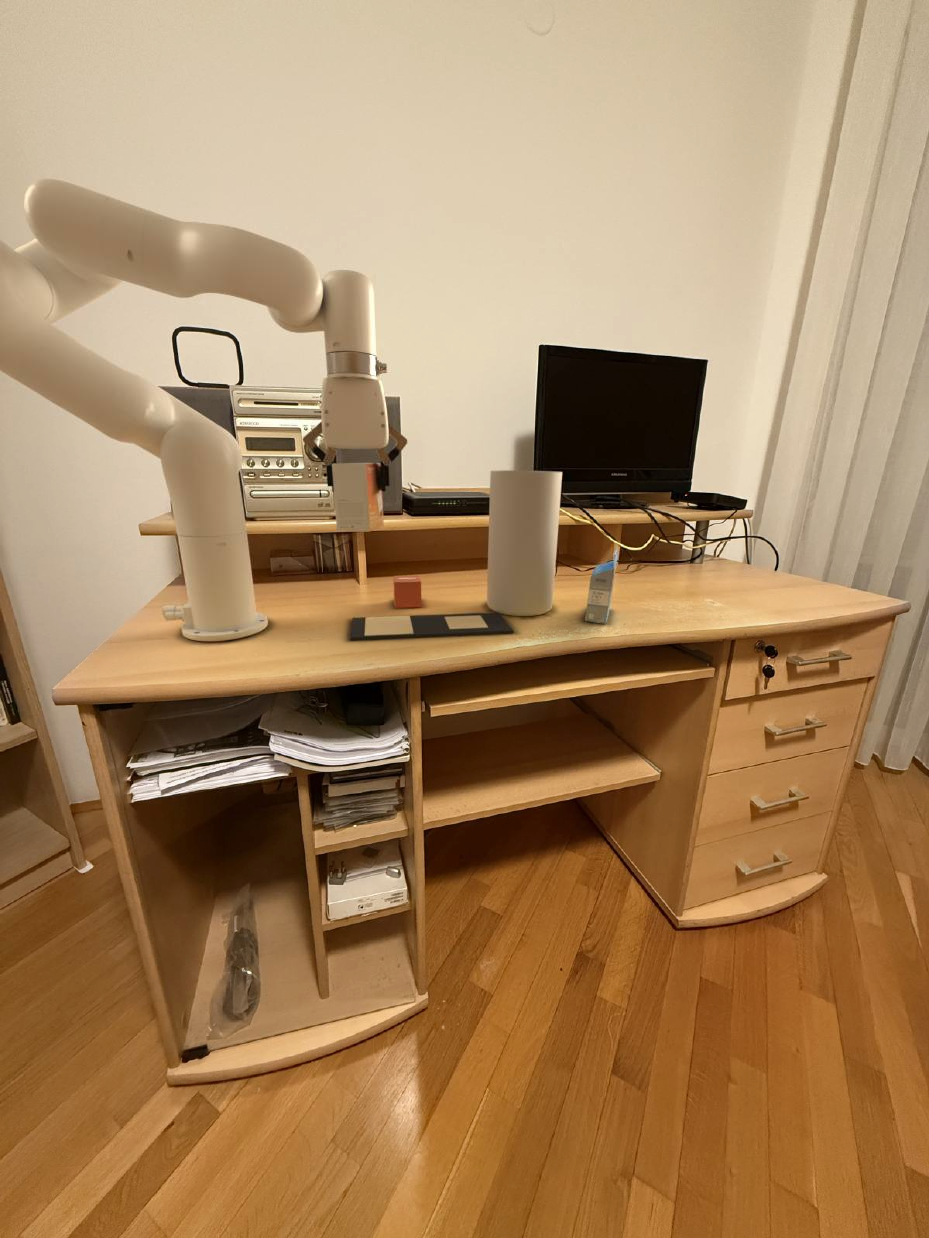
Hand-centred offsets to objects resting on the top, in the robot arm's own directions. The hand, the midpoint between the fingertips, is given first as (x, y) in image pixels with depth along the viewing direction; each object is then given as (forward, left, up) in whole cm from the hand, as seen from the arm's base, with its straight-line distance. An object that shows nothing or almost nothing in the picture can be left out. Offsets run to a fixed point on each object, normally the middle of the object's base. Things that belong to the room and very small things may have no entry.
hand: (359, 490), depth 80 cm
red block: (+8, +8, -22) cm, 24 cm away
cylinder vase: (+29, +3, -22) cm, 36 cm away
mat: (+11, -6, -22) cm, 25 cm away
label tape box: (+42, -4, -22) cm, 47 cm away
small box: (0, 0, -6) cm, 6 cm away
